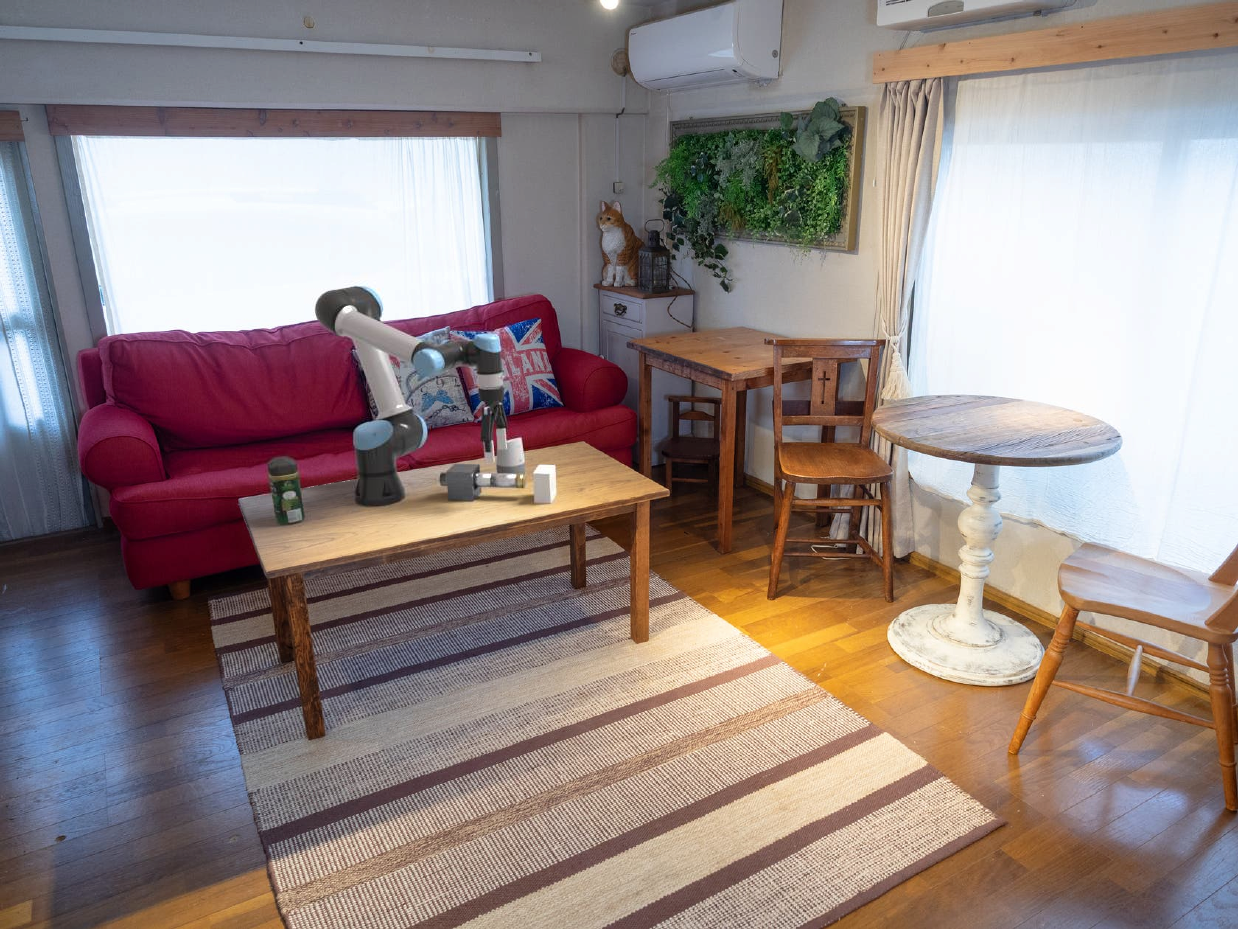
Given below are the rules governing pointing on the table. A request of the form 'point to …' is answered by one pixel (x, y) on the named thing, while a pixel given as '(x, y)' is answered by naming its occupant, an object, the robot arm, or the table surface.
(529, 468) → the table surface
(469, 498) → the sleeve
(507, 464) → the smart speaker
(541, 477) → the socket block
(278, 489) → the coffee jar
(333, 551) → the table surface
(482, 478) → the tube
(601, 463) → the table surface
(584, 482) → the table surface
